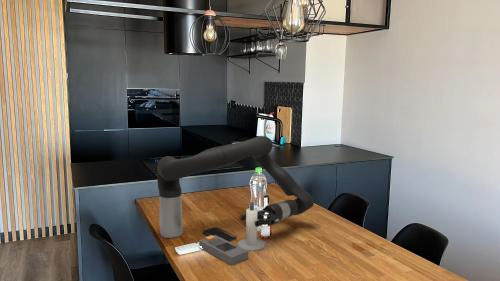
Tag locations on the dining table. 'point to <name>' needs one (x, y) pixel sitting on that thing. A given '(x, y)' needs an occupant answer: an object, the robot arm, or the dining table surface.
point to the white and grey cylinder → (251, 225)
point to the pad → (257, 247)
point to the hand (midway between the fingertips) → (248, 221)
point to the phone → (219, 234)
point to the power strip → (223, 249)
